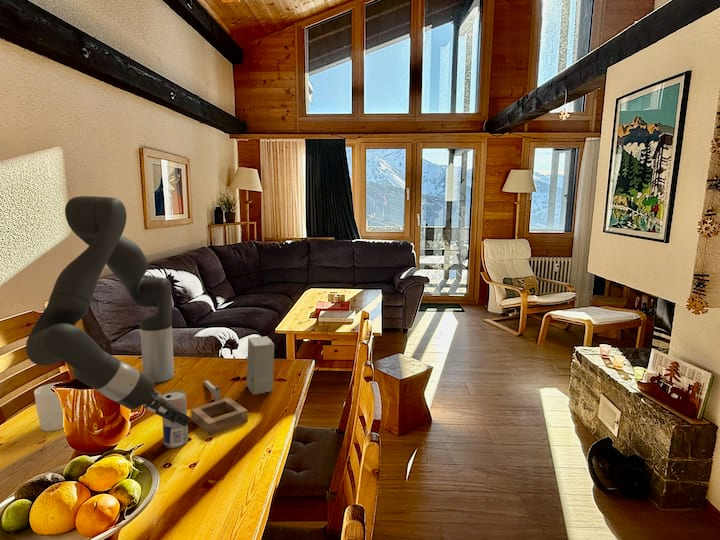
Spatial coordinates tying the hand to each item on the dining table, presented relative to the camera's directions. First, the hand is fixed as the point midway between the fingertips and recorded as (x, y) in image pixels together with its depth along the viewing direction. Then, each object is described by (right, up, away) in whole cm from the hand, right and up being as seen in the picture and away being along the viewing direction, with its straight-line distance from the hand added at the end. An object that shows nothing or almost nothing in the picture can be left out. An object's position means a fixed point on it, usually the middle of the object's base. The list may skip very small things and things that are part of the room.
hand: (182, 417), depth 102 cm
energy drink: (-1, -6, 0) cm, 6 cm away
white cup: (-35, -4, +7) cm, 36 cm away
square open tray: (+6, -4, +10) cm, 13 cm away
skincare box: (+12, -2, +30) cm, 32 cm away
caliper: (-2, -2, +26) cm, 26 cm away
